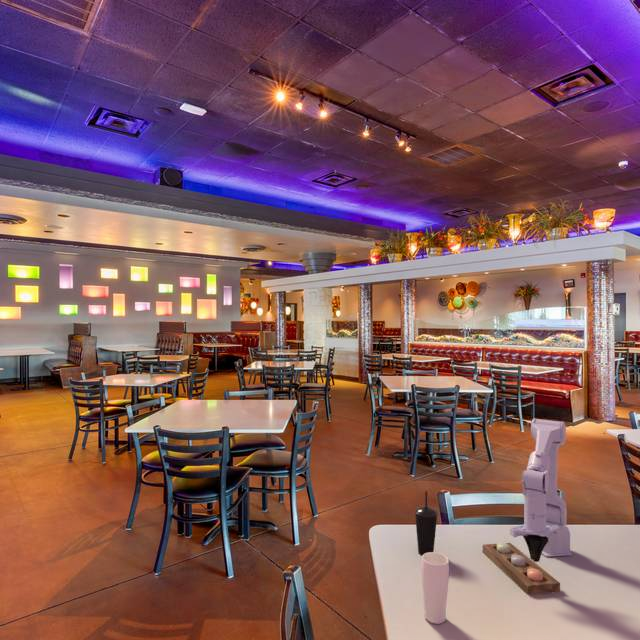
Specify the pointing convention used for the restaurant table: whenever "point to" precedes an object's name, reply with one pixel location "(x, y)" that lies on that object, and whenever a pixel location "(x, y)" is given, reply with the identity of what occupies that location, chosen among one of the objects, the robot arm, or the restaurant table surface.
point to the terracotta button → (534, 575)
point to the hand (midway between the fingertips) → (534, 560)
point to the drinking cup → (425, 527)
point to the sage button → (503, 548)
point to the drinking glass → (435, 586)
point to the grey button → (518, 560)
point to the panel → (521, 570)
